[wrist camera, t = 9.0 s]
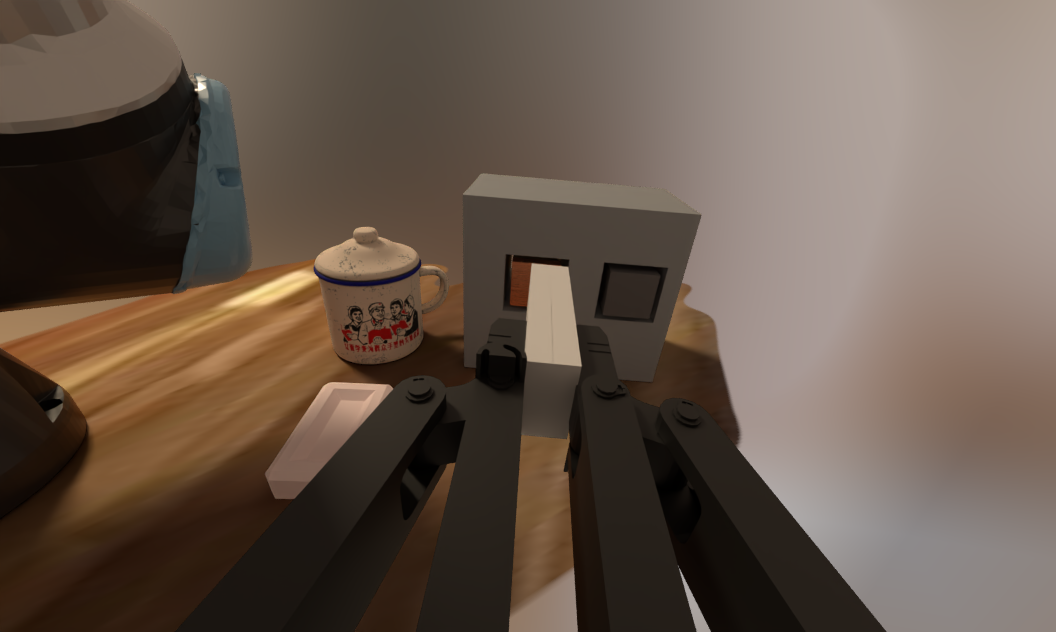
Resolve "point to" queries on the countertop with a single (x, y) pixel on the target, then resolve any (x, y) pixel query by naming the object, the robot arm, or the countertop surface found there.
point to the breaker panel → (579, 258)
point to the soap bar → (322, 434)
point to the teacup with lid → (375, 297)
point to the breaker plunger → (525, 276)
